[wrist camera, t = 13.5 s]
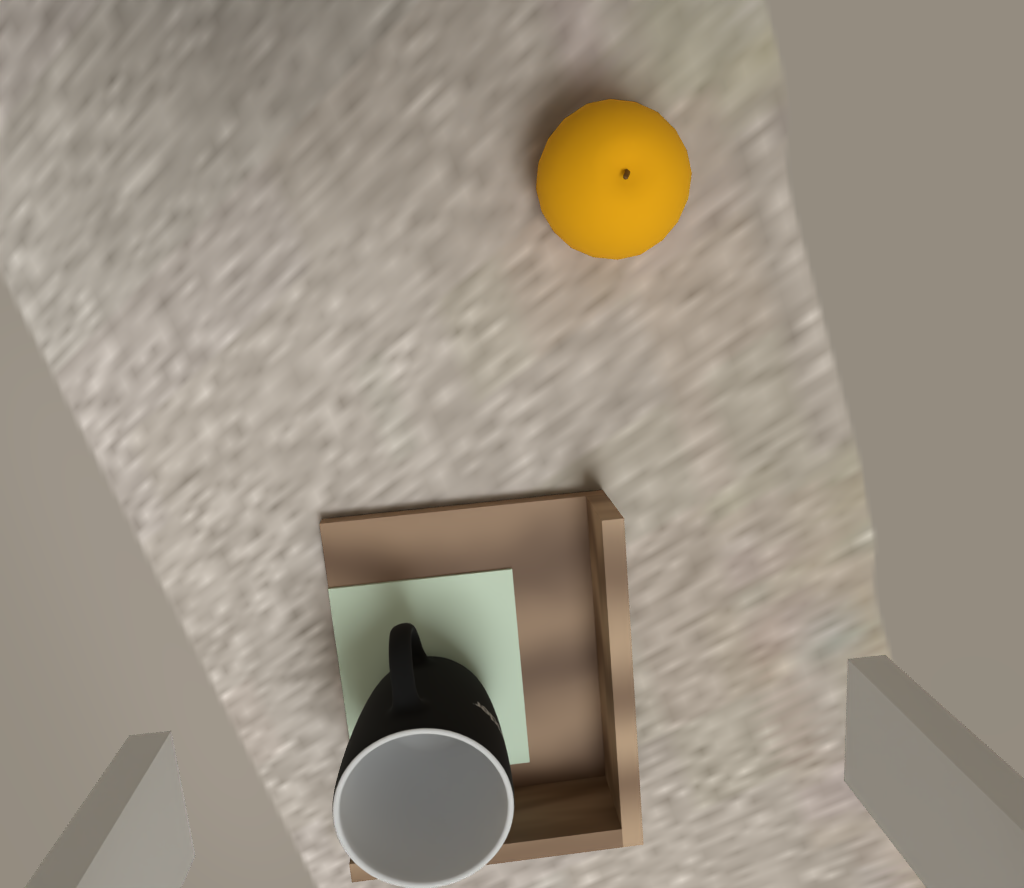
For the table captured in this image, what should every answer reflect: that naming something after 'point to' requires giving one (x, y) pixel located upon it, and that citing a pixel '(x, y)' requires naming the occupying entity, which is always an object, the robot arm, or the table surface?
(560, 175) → the yellow orange fruit
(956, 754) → the robot arm
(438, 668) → the mug
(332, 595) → the pad
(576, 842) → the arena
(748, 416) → the table surface
